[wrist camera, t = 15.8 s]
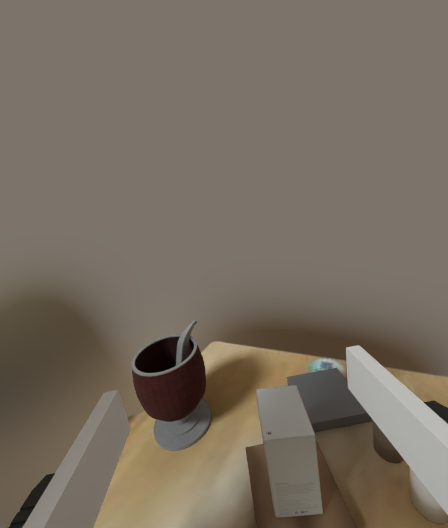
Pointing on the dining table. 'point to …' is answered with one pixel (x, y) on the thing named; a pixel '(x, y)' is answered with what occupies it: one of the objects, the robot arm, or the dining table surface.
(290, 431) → the small box
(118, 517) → the dining table surface
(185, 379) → the mate gourd
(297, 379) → the slate coaster
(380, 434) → the pepper shaker
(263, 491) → the walnut coaster
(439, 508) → the salt shaker
